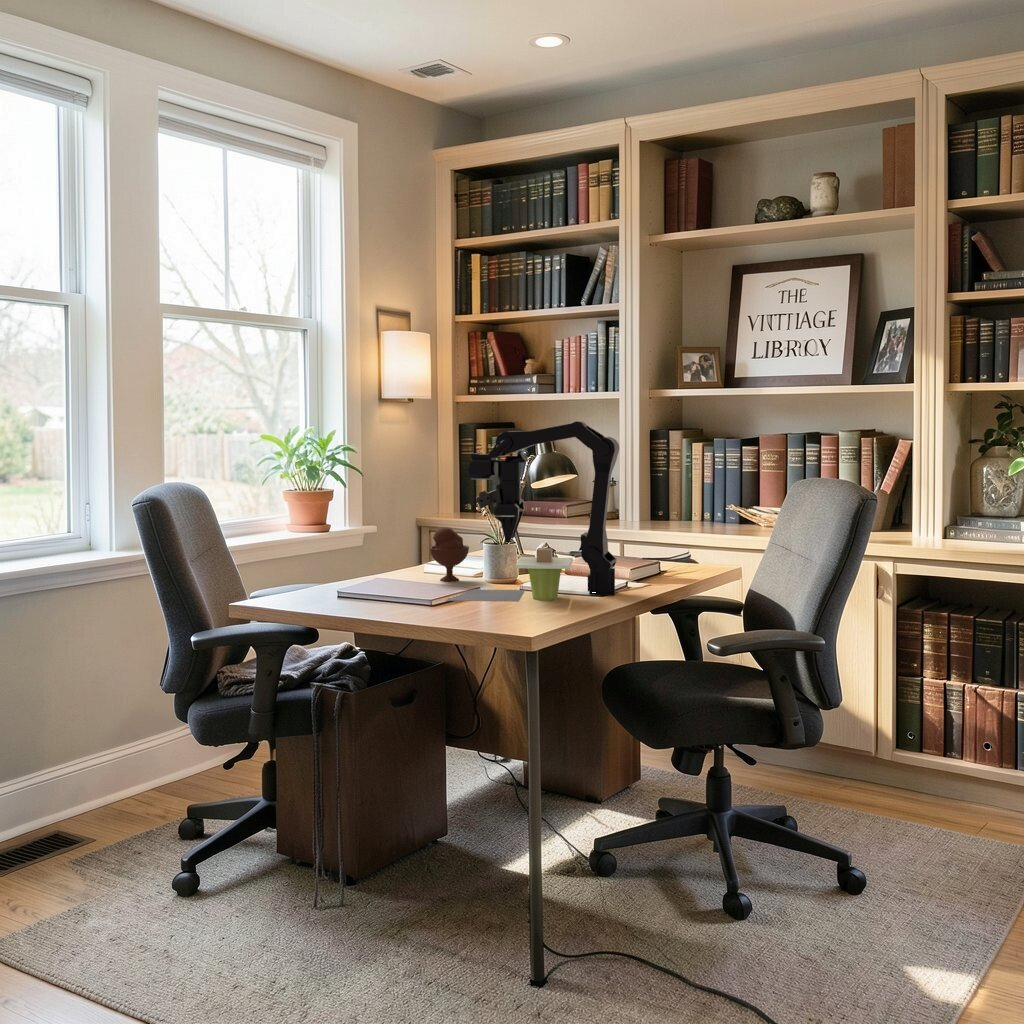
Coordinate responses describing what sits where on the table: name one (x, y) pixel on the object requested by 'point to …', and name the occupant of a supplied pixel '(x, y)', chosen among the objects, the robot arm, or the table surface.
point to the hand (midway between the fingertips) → (509, 540)
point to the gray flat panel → (489, 595)
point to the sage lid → (544, 561)
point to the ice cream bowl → (448, 551)
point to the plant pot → (544, 583)
